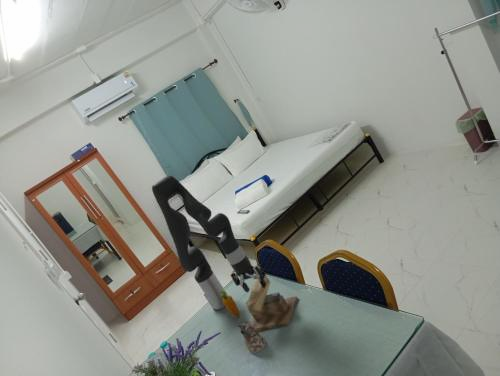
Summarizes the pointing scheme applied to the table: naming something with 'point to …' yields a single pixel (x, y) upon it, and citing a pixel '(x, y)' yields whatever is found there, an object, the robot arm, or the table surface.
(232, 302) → the carrot
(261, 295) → the oak batten
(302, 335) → the table surface
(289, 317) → the ridge stand
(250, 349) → the figurine
